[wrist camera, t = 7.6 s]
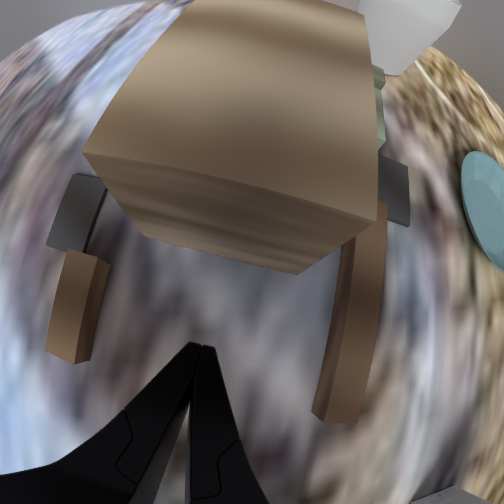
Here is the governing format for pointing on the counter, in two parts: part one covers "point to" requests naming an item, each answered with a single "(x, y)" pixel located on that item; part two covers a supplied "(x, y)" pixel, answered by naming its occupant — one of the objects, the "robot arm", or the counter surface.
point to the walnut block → (247, 133)
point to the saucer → (484, 203)
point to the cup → (404, 29)
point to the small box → (451, 497)
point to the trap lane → (345, 305)
